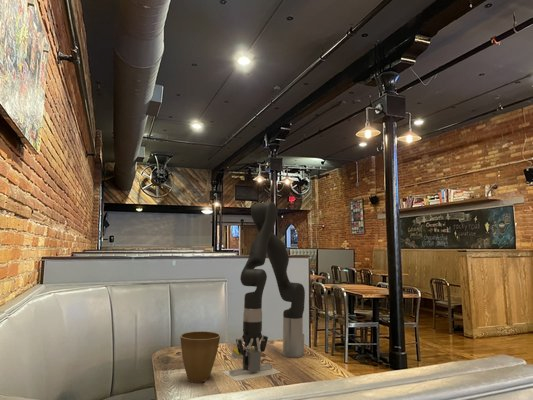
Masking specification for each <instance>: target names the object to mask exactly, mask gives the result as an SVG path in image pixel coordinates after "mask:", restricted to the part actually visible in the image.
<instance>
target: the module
mask: <svg viewBox="0 0 533 400" xmlns="http://www.w3.org/2000/svg"><path fill="white" fill-rule="evenodd" d="M261 358H262V353H261V352H260V351H257V350H255V349H253V347H251V349H250V350H249V353H248V366H249V372H255V371H260V365H261V364H262V363H261ZM248 366H245V365H244V364H243V363H242V368H248Z"/></svg>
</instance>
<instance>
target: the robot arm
mask: <svg viewBox="0 0 533 400" xmlns="http://www.w3.org/2000/svg"><path fill="white" fill-rule="evenodd" d="M250 216H251V218H252V221H253V223H254V226H255V228H256V229H257V231H258V232H257V235H256V236H255V237H254V239H253V241H252V243H251V245H250V249H249V254H248V259H247V261H246V263H245V265H244V267H243V269H242V270H241V273H240V277H239V278H240V283H241V284H242V286H244V287H255V290H254V291H250V292H249V291H248V292H247V293H245V294H244V304H243V308H244V309H243V314H242V315H243V316H242V317H243V318H242V320H243V321H242V333H243V334H242V336H241V337H240V338H236V339H235V343H236V349H238V353H239V354H241V355H243V358H242V365H243V364H244V365H245V366H248V353H249V350H250V349H251V348H253V347H254V348H255V350H257V351H260V352H261V354H262V353H264V352H266V347H267V343H268V340H269V337H268V336H267V335H263V334H262V332H263V311H262V309H263V307H262V306H263V305H262V304H263V303H262V302H263V301H262V300H263V293H264V289H265V287H266V283H267V278H268V275H267V272H266V271H265V270H264V269H263V268H262V269H261V268H257V267H262V266H264V265H265V263H266V258H267V257H268V260H269V263H270V266H271V268H272V271H273V273H274V276H275V277H274V278H275V281H276V284H277V288H278V292H279V296H280V298H281V299H282V301H284V302H288V303H291V304H290V307H289V308H288V309H284V310H283V313H282V315H283V318H282V356H284V357H287V358H293V359H294V358H301V357H302V356H305V334H304V333H303V331H304V330H303V325H304V324H303V320H304V319H303V316H304V312H305V300H306V299H305V298H306V297H305V296H306V291H305V286H304V285H303V284H302V283H300V282H291V281H290V279H289V277H288V272H287V271H288V267H289V261H290V256H289V252H288V249H287V247H286V245H285V243H284V242H283V241H282V239H280V238H279V237H278V236H277V235H276V234H275V233H274V232H273V230H274V227H275V225H276V221H277V218H278V207H277V205H276V204H275V202H273V201H264V202H260V203H255V204H253V205H251V208H250ZM243 348H244V349H243Z"/></svg>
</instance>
